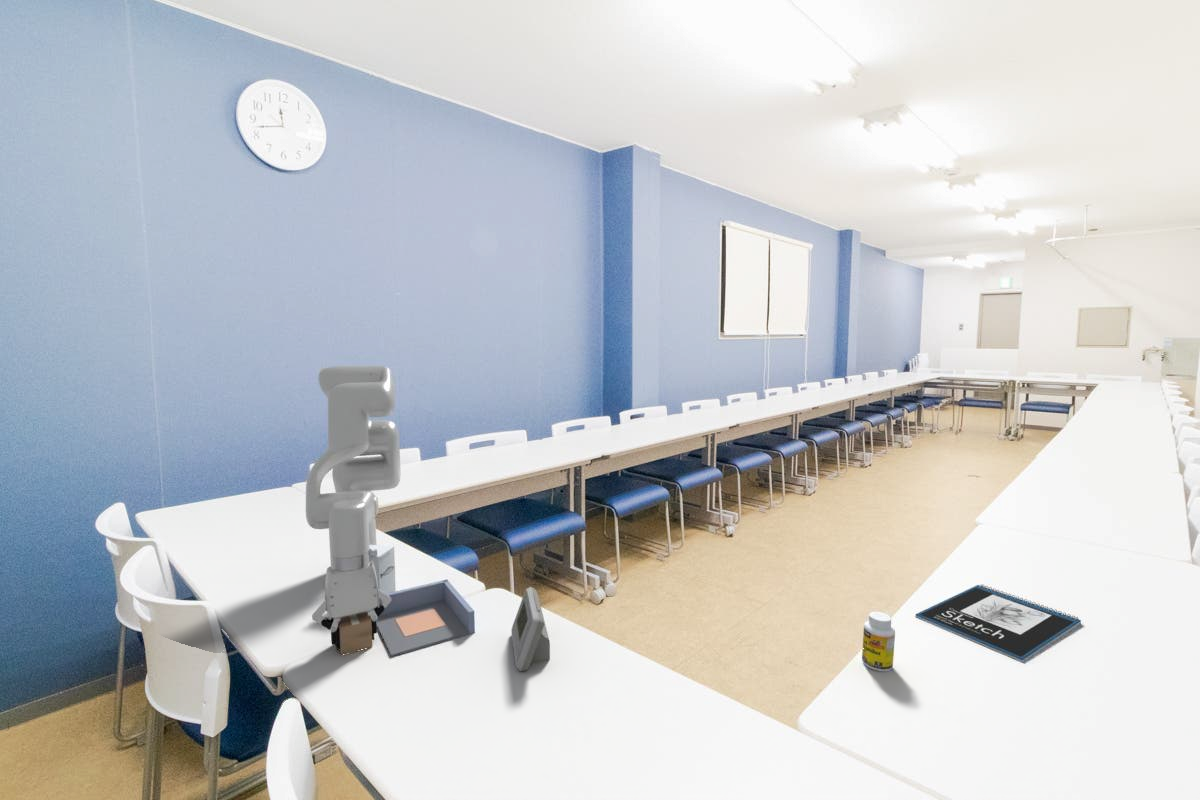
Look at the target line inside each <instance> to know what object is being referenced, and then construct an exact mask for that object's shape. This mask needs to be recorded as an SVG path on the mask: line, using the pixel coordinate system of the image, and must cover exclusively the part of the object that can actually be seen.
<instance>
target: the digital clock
mask: <svg viewBox="0 0 1200 800" xmlns="http://www.w3.org/2000/svg"><path fill="white" fill-rule="evenodd" d="M545 622H546V621H545V618H544V614H543V609H542V606H541V603H540V598H539V594H538V592H537V590H536V589H535V588H534V587H532V586H530V587H527V588H525V591H524V594H523V596H522V598H521V601H520V604H519V607H518V609H517V613H516V616H515V618H514V621H513V624H512V627H511V638H512V640H511V641H512V646H513V647H512V648H513V653H514V654H513V655H514V661H515V662H514V663H515V666H516V668H517V669H518V671H520V672H525V671H527V670H528V669H529V668H530V666H531V663H535V662H536V663H537V662H543V661H550V660H551V653H550V652H551V645H550V638H549V634H548V630H547V626H546V623H545Z"/></svg>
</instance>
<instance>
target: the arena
mask: <svg viewBox="0 0 1200 800" xmlns="http://www.w3.org/2000/svg"><path fill="white" fill-rule="evenodd" d="M387 595H389V596H390V597H391V599H392V600H391V602H390V603H389V604H388V606H387V607H385V609H384V611H383V612H382V613H381V615H380V616H379V617H378V620H377V621H376V625H377V627H378V628H377V630H378V632H379V634H380V633H381V634H380V636H381V635H382V636H381V638H382V637H383V638H382V640H383V639H384V640H383V642H384V644H386V645H385V646H387V647H386V649H387V648H388V649H387V651H388V650H389V651H388V653H389V652H390V653H389V655H390V657H391V658H393V657H396V656H395V655H397V656H399V655H398V654H400V655H404V654H406V653H410V652H413V651H418V650H420V649H423V648H428V647H431V646H433V645H437V644H441V643H444V642H448V641H451V640H455V639H457V638H461V637H464V636H467V635H471V634H475V633H476V631H475V630H476V629H475V628H476V627H475V623H476V622H475V610H474V608H473V607H472V606H471V605H470V603H468V602H467V601H466V599H465V598H464V597H463V596H462V595H461V594H460V593H459V592H458V590H457V589H456V588H455V587H454V586H453V585H452V583H451V582H450V581H449V579H442V580H439V581H435V582H430V583H426V584H422V585H418V586H413V587H408V588H404V589H401V590H397V591H396V592H391V593H387ZM381 601H382V599H380V598H379V604H380V603H381ZM374 609H375V608H374ZM392 656H393V657H392Z"/></svg>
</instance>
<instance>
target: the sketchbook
mask: <svg viewBox="0 0 1200 800" xmlns="http://www.w3.org/2000/svg"><path fill="white" fill-rule="evenodd" d="M914 617H916V618H917V619H920V620H923V621H924V622H927V623H929V624H931V625H934V626H936V627H939V628H940V629H943V630H945V631H948V632H951V633H953V634H955V635H957V636H960V637H962V638H964V639H967V640H969V641H971V642H974V643H975V644H979V645H981V646H983V647H985V648H987V649H990V650H992V651H995V652H997V653H999V654H1001V655H1004V656H1007V657H1009V658H1011V659H1013V660H1016V661H1019V662H1021V663H1023V662H1024V661H1027V660H1028V659H1029V658H1031V657H1032V656H1034V655H1035V654H1037V653H1039V652H1040V651H1042V650H1043V649H1044V648H1047V647H1048V646H1049V645H1051V644H1053V643H1054V642H1056V641H1057V640H1058V639H1060V638H1062V637H1063V636H1064V635H1066V634H1068V633H1070V632H1071V631H1072V630H1074V629H1075V628H1077V627H1078V626H1080V625H1081V624H1082V623H1081V622H1082V619H1079V617H1078V616H1075V615H1073V614H1070V613H1066V612H1065V611H1064V612H1062V611H1061V610H1057V609H1056V608H1054V609H1053V608H1052V607H1048V606H1045V605H1044V604H1040V603H1036V601H1031V600H1028V599H1027V598H1023V597H1020V596H1016V595H1014V594H1011V593H1007V592H1006V591H1005V592H1004V591H1002V590H999V589H996V588H992V587H991V586H990V587H989V586H988V585H984V584H977V585H975V586H972V587H970V588H968V589H966V590H964V591H962V592H960V593H957V594H955V595H953V596H951V597H949V598H947V599H945V600H943V601H941V602H938V603H937V604H934V605H932V606H931V607H927V608H926V609H923V610H922V611H919V612H918V613H915V616H914Z"/></svg>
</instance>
